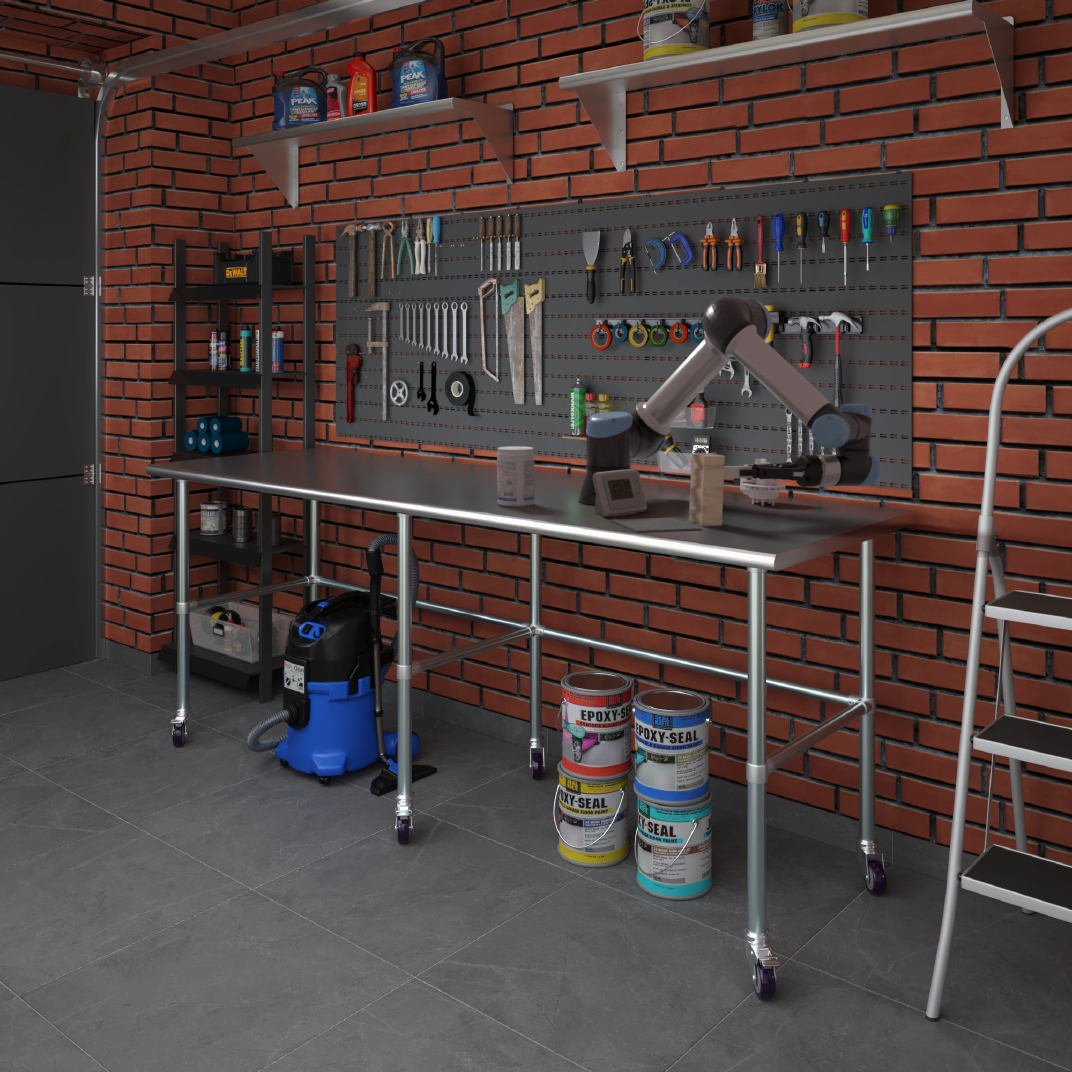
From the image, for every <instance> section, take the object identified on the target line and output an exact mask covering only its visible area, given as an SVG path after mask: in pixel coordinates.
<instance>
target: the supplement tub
mask: <svg viewBox="0 0 1072 1072" xmlns="http://www.w3.org/2000/svg"><path fill="white" fill-rule="evenodd" d="M496 457H497V458H496V462H497V465H496V470H497V471H496V474H497V475H496V477H497V479H496V484H497V486H496V487H497V489H496V490H497V496H496V497H497V504H498V505H500V506H502V507H509V508H510V507H511V508H513V507H514V508H518V507H519V508H522V507H530V506H533V505H534V504H535V491H536V490H535V450H534V447H532V446H521V445H520V446H518V445H517V446H515V445H514V446H513V445H511V446H509V445H508V446H499V447H498V448H497V454H496Z"/></svg>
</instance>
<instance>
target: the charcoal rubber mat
mask: <svg viewBox="0 0 1072 1072" xmlns="http://www.w3.org/2000/svg"><path fill="white" fill-rule="evenodd" d="M611 522H613V523H614V524H617V525H619V526H621V527H624V528H626V529H628V530H631V531H633V532H635V533H653V532H654V533H655V532H659V533H660V532H680V531H682V532H685V531H687V532H689V531H702V530H703V527H701V526H698V525H695V524H693V523H690V522H686V521H683V520H681V519H678V518H675V517H650V518H623V519H622V518H621V519H619V518H618V519H617V518H616V519H613V518H612V519H611Z"/></svg>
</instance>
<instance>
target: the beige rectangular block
mask: <svg viewBox="0 0 1072 1072" xmlns="http://www.w3.org/2000/svg"><path fill="white" fill-rule="evenodd" d="M690 459H691V460H690V461H691V462H690V463H691V464H690V481H689V482H690V485H689V486H690V488H689V508H688V509H689V510H688V511H689V514H688V523H689V524H692V525H695V526H697V527H700V528H703V527H706V528H707V527H722V526H723V506H724V485H725V478H724V466H726V465H725V460H726V456H725V455H722V454H718V453H717V454H716V453H710V452H709V453H706V452H705V453H704V452H703V453H691V456H690Z"/></svg>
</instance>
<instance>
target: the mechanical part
mask: <svg viewBox="0 0 1072 1072" xmlns="http://www.w3.org/2000/svg"><path fill="white" fill-rule="evenodd" d="M754 464H757V465H759V464H771V463H770V462H769V461H768V462H767V459H766V458H754ZM747 465H749V464H743V466H747ZM781 480H782V479H759V478H756V479H755V478H753V477H752V478H751V480H747V478H740V480H739V481H740V482H739V483H740V486H739V489H740V491H741V492H742V493H743V495H744V496H745V495H746V496H748V497H750V498H751V505H754V504H755V503H756V504H759V499H760V500H761V506H765V500H768V504H771V505H772V506H775V499H779V492H783V491H785V490H786V484H785V483H779V482H781ZM755 499H756V502H755Z"/></svg>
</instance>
